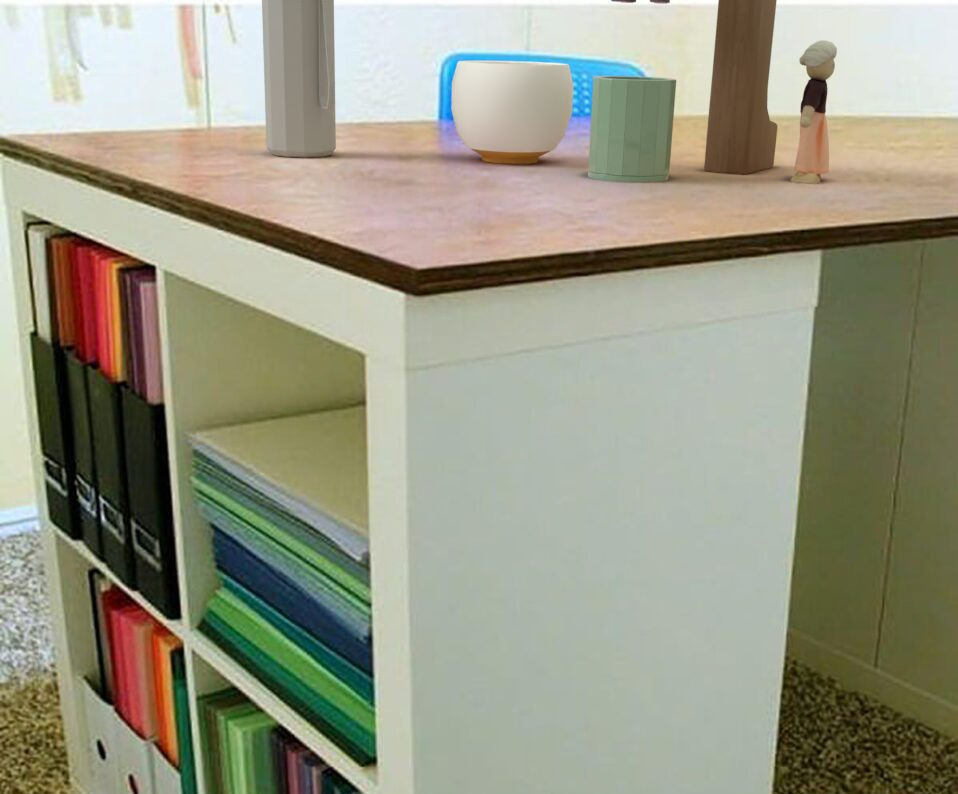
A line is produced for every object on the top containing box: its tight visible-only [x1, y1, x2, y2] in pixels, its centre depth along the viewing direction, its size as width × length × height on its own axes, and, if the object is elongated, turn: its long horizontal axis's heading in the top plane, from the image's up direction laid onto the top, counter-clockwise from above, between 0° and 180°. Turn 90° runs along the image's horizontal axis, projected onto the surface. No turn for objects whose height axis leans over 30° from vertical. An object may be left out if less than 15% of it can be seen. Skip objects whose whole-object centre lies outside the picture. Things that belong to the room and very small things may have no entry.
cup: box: [450, 60, 574, 165], centre depth 132 cm, size 12×12×10 cm
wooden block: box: [703, 0, 779, 176], centre depth 128 cm, size 9×4×18 cm, turn 150°
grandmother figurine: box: [790, 39, 838, 185], centre depth 122 cm, size 8×4×13 cm, turn 171°
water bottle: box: [261, 0, 337, 159], centre depth 129 cm, size 9×8×25 cm
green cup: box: [587, 75, 677, 183], centre depth 121 cm, size 8×8×9 cm
